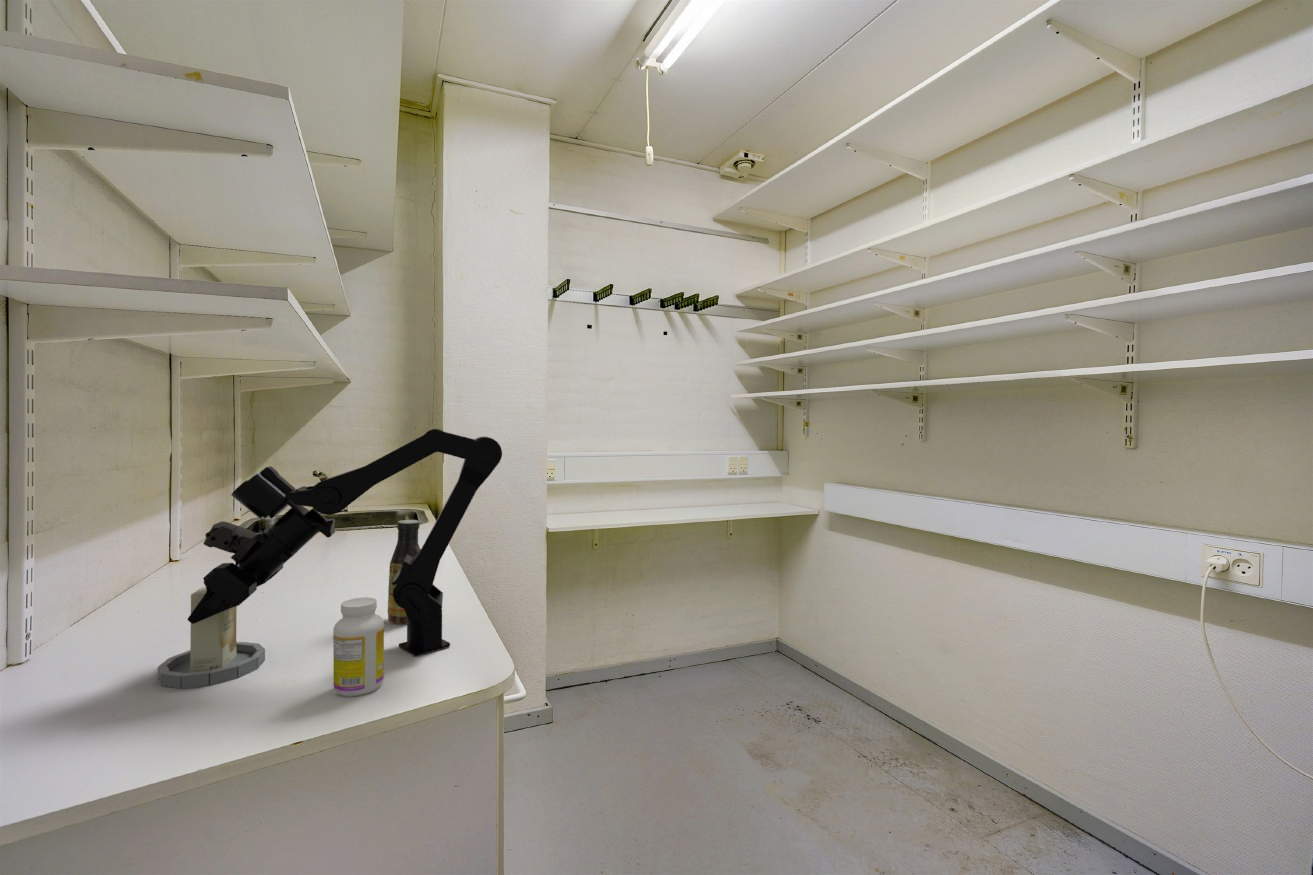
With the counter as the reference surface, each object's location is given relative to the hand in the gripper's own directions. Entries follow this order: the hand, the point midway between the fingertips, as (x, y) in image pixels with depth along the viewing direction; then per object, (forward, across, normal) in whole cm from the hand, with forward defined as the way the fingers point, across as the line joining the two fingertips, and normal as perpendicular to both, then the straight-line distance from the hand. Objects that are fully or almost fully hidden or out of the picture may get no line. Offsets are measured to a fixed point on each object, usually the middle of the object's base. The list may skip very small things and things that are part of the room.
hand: (203, 612), depth 90 cm
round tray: (+6, 0, +7) cm, 9 cm away
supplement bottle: (-10, +14, +24) cm, 29 cm away
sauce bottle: (-13, -16, +26) cm, 33 cm away
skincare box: (+5, 0, +7) cm, 9 cm away
